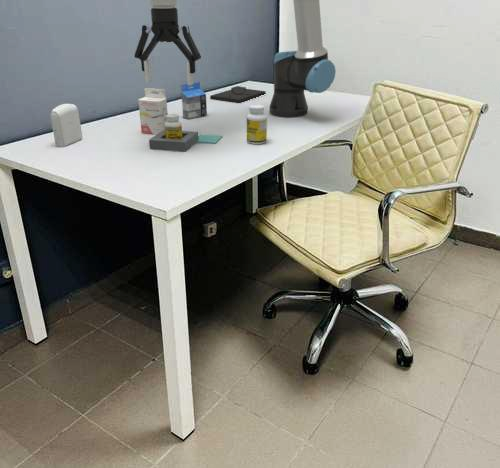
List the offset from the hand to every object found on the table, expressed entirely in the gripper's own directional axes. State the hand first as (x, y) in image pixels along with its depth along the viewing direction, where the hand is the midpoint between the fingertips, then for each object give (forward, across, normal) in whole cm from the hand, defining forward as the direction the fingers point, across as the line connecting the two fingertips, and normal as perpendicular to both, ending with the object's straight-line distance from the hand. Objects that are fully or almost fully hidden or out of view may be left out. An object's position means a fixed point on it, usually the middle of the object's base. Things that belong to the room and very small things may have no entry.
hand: (169, 83), depth 155 cm
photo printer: (+20, +35, +5) cm, 40 cm away
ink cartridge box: (+20, +12, -12) cm, 26 cm away
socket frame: (+19, 0, 0) cm, 19 cm away
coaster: (+19, -9, -8) cm, 23 cm away
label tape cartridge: (+19, +6, -36) cm, 41 cm away
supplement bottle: (+20, 0, 0) cm, 20 cm away
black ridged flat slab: (+20, -1, -74) cm, 77 cm away
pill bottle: (+19, -25, -9) cm, 33 cm away
